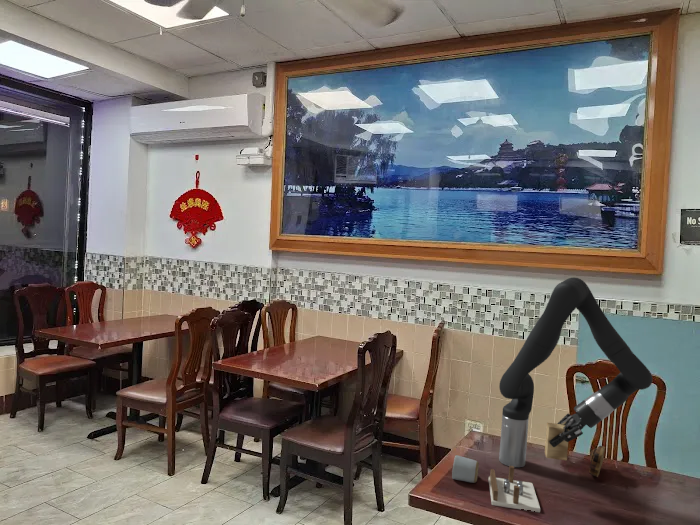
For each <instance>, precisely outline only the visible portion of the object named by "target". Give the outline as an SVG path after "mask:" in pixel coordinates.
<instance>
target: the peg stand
mask: <svg viewBox="0 0 700 525" xmlns="http://www.w3.org/2000/svg"><path fill="white" fill-rule="evenodd" d="M504 479H505V478H502V477H496V482H497V488H498V499H497V501H495V500H493V494H492V487H491V480H490V476H488V486H489V494H490V501H491V505H492V506H496V507H503V508H509V509H515V510H521V509H524V510H523V511H527V510H531V511H530V512H534V511H535V512H534V513H541V507H540V503H539V500H538V497H537V495H536V491H535V487H534V485H533V482H529V481H522V485H523V495H522V496H520V495H519V500H518V504H514V503H513V493H514V485H516V486H517V481H518V480H514V479H513V483H511V482H509V483H510V493H509V494H507V493H505V492H504Z"/></svg>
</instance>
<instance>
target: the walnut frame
mask: <svg viewBox="0 0 700 525" xmlns="http://www.w3.org/2000/svg"><path fill="white" fill-rule="evenodd" d="M489 474H490V475H489V477H490V480H491V487H492V494H493V500H495V501H497V499H498V488H497V482H496V478H497V476H496V471H495V469H494V468H490V473H489ZM514 474H515V467H514V466H508V478H507V479H509V482H511V483H513V480H514V476H515V475H514ZM518 500H519V486H516V485H514V493H513V503H514V504H518Z"/></svg>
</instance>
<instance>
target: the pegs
mask: <svg viewBox="0 0 700 525" xmlns="http://www.w3.org/2000/svg"><path fill="white" fill-rule="evenodd" d="M503 479H504V492H505V493H507V494H509V493H510V483H509V479H508V478H503ZM516 481H517V486H519V495H520V496H522V495H523V485H522V482H523V480H516Z"/></svg>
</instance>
